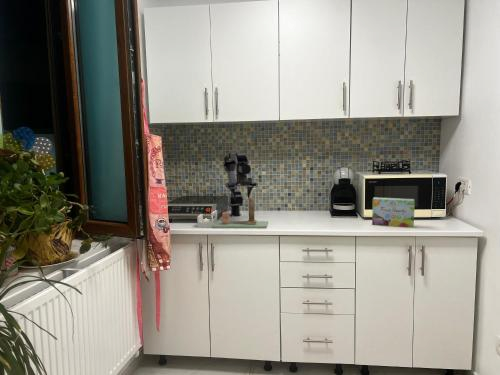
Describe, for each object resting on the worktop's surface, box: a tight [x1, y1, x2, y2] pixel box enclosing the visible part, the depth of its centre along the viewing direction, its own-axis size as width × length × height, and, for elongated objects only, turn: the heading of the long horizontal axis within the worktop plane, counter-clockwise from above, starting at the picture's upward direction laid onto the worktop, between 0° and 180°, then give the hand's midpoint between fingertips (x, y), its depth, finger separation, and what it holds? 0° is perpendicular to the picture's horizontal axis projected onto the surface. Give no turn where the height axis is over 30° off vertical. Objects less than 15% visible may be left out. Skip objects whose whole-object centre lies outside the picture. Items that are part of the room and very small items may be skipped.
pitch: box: [196, 209, 269, 229], centre depth 208 cm, size 14×39×8 cm, turn 83°
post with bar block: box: [221, 197, 258, 224], centre depth 207 cm, size 5×20×14 cm, turn 83°
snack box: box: [371, 196, 415, 228], centre depth 199 cm, size 21×6×15 cm, turn 66°
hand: (241, 198), depth 224 cm, fingers open, 9 cm apart
